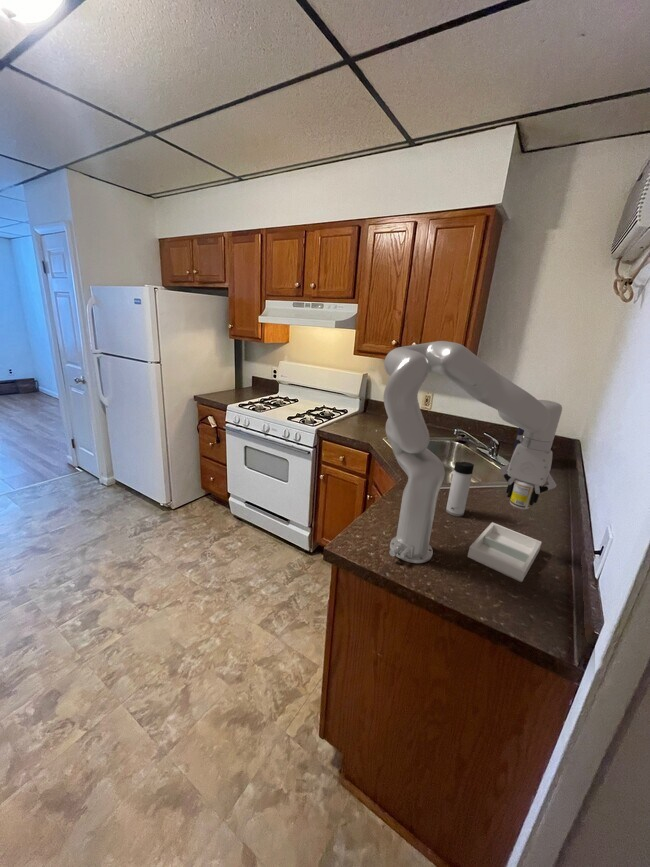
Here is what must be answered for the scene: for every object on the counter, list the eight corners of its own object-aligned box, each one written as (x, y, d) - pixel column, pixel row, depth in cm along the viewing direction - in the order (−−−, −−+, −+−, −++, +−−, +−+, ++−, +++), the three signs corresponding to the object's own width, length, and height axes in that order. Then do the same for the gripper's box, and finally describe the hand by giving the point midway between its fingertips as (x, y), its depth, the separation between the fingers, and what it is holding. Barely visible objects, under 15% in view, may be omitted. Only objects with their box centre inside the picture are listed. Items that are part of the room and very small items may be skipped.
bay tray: (521, 582, 98) (524, 571, 97) (467, 556, 107) (469, 546, 106) (539, 551, 112) (541, 541, 111) (489, 531, 122) (492, 522, 120)
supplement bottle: (521, 500, 112) (530, 470, 108) (533, 510, 106) (542, 478, 103) (505, 500, 111) (513, 470, 108) (516, 509, 106) (524, 478, 102)
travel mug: (453, 518, 128) (463, 466, 122) (442, 508, 134) (452, 459, 128) (467, 516, 130) (478, 465, 124) (456, 507, 136) (466, 458, 130)
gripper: (500, 437, 105) (487, 493, 111) (568, 455, 94) (550, 515, 100) (508, 433, 110) (495, 486, 116) (573, 449, 100) (555, 506, 105)
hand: (520, 499), depth 108 cm, fingers closed on supplement bottle, 5 cm apart
